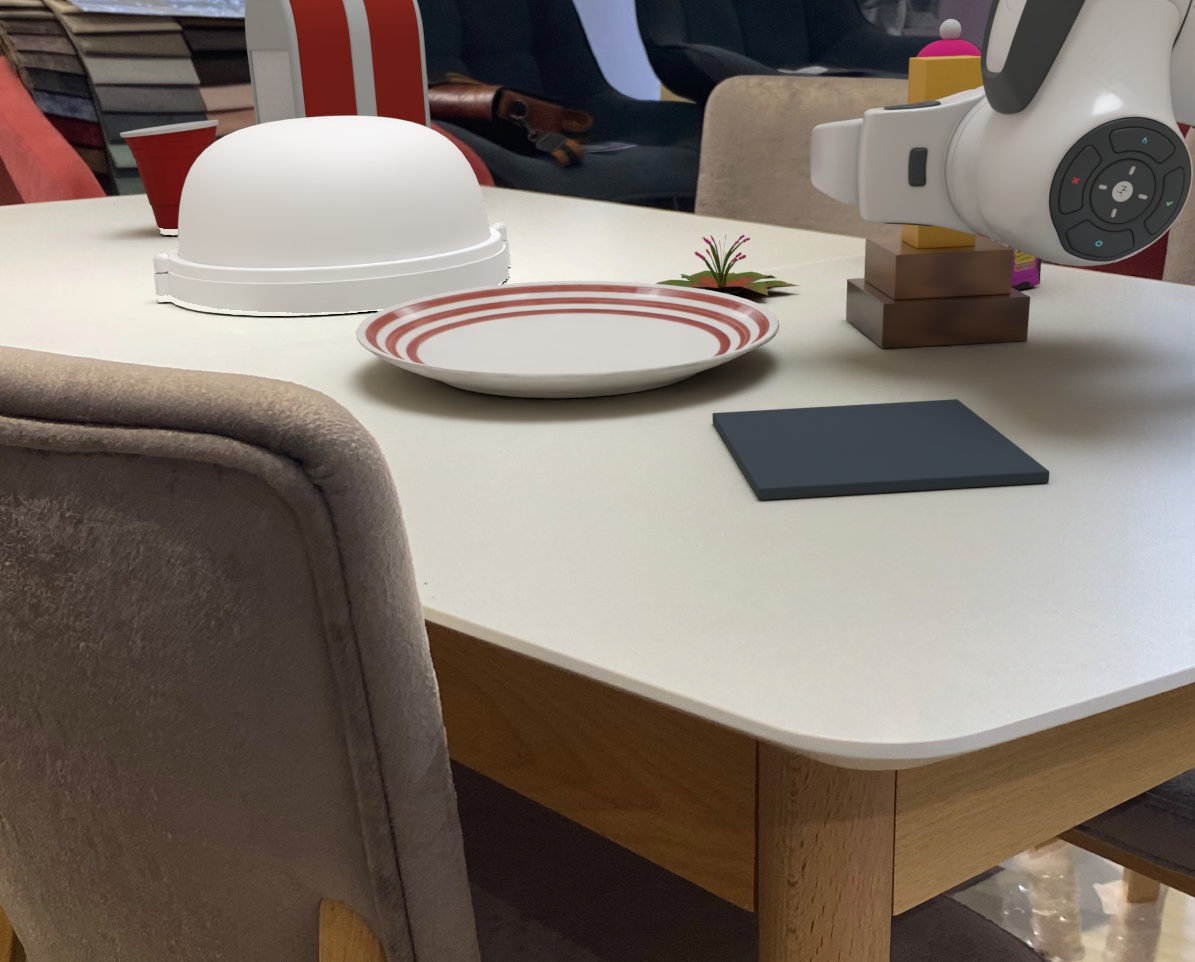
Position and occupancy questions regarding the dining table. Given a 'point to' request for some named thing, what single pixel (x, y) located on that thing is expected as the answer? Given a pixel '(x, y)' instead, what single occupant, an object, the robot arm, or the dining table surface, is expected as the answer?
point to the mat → (872, 449)
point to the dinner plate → (567, 336)
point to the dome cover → (330, 219)
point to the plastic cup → (168, 162)
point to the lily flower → (726, 275)
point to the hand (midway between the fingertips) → (938, 141)
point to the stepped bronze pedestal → (937, 295)
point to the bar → (930, 84)
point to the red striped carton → (337, 59)
